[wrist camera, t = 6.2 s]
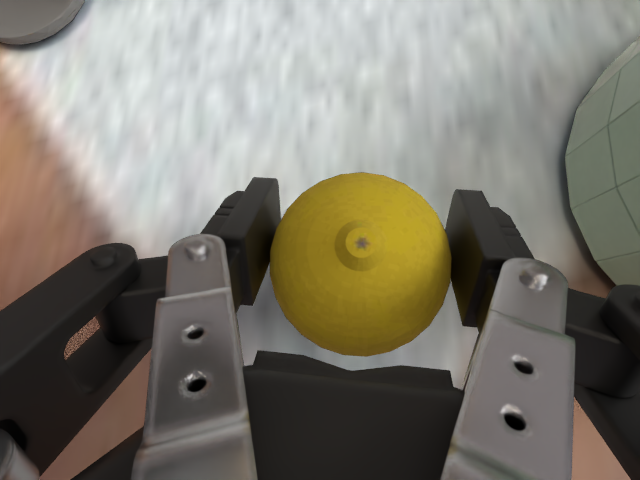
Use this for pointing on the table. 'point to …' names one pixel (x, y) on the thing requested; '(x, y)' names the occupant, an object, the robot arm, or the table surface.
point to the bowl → (609, 168)
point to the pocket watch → (34, 19)
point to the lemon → (360, 264)
